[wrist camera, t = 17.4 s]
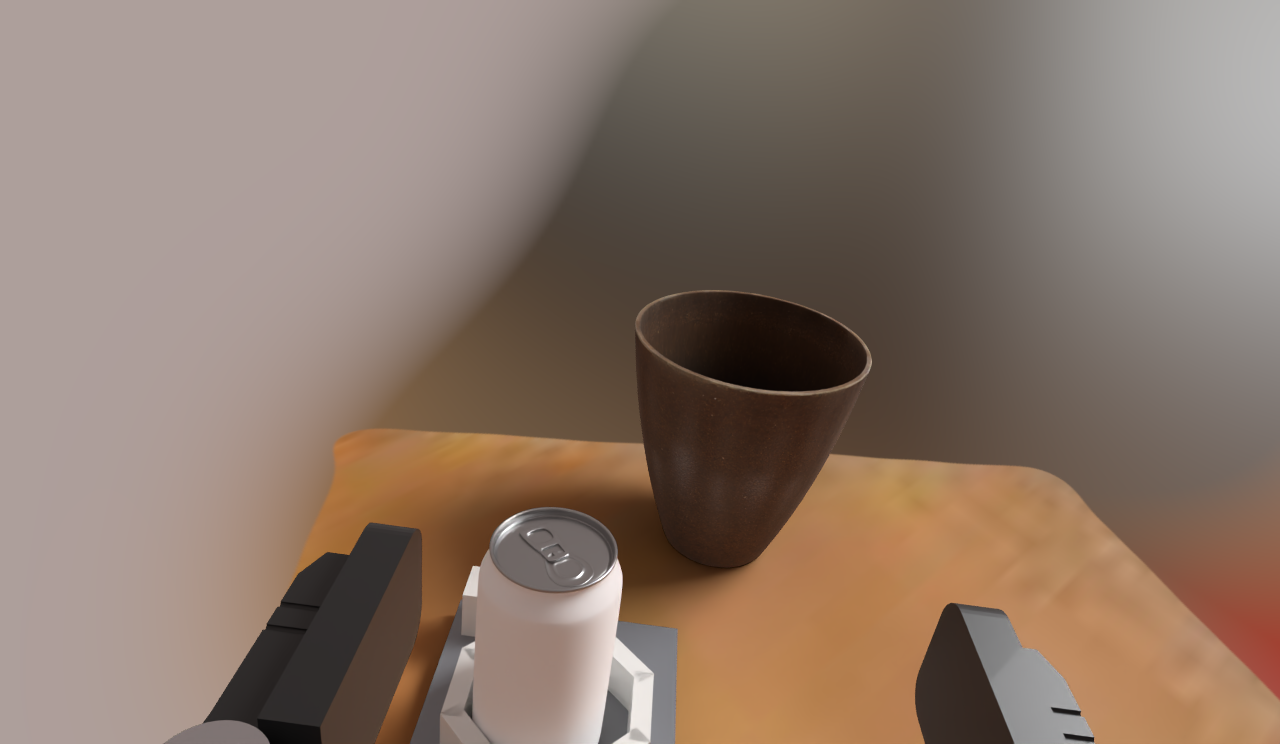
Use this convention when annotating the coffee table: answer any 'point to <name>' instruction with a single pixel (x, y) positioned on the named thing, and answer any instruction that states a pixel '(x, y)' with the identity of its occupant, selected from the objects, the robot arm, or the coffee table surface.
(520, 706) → the can
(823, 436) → the plant pot
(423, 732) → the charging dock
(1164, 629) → the coffee table surface
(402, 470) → the coffee table surface
